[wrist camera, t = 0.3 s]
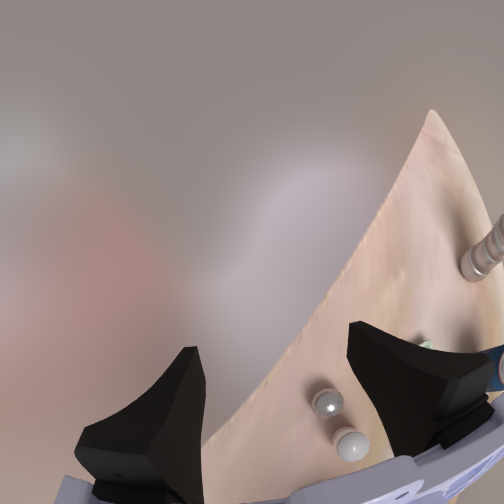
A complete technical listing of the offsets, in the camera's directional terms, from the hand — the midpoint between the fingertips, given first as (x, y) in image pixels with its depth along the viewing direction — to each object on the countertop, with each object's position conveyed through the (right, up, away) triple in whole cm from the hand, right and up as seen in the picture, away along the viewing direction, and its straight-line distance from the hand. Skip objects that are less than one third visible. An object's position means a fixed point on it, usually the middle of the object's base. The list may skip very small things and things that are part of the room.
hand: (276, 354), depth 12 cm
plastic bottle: (+40, +1, +28) cm, 49 cm away
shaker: (+13, -23, +19) cm, 33 cm away
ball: (+9, -16, +21) cm, 28 cm away
